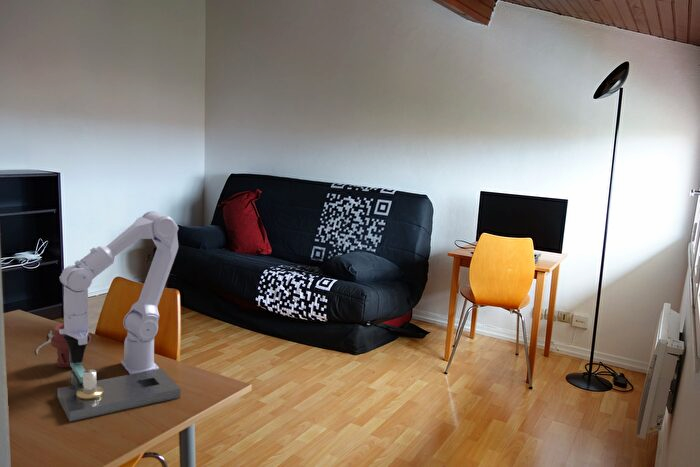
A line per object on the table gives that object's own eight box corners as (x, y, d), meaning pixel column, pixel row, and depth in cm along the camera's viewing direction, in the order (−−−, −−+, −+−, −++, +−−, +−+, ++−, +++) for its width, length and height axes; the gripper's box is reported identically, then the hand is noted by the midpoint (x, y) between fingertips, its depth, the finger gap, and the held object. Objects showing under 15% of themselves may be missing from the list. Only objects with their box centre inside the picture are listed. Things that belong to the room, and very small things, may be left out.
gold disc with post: (74, 400, 145) (73, 370, 144) (100, 395, 149) (99, 365, 148) (79, 410, 141) (79, 379, 139) (106, 405, 144) (106, 374, 143)
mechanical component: (76, 355, 173) (98, 364, 168) (43, 366, 164) (66, 375, 159) (75, 314, 171) (98, 322, 166) (42, 323, 162) (65, 331, 157)
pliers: (37, 355, 170) (27, 333, 186) (37, 358, 170) (27, 336, 186) (73, 350, 175) (61, 329, 191) (74, 352, 176) (61, 331, 191)
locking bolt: (69, 365, 157) (69, 347, 156) (79, 363, 159) (78, 346, 158) (79, 382, 148) (79, 364, 147) (90, 380, 149) (89, 362, 148)
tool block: (52, 386, 152) (51, 374, 152) (153, 367, 168) (153, 356, 167) (69, 422, 136) (69, 408, 135) (180, 397, 151) (180, 385, 151)
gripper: (53, 306, 156) (54, 355, 158) (65, 322, 144) (66, 375, 147) (82, 302, 160) (83, 350, 162) (95, 318, 149) (96, 369, 151)
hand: (77, 362), depth 155 cm, fingers closed
